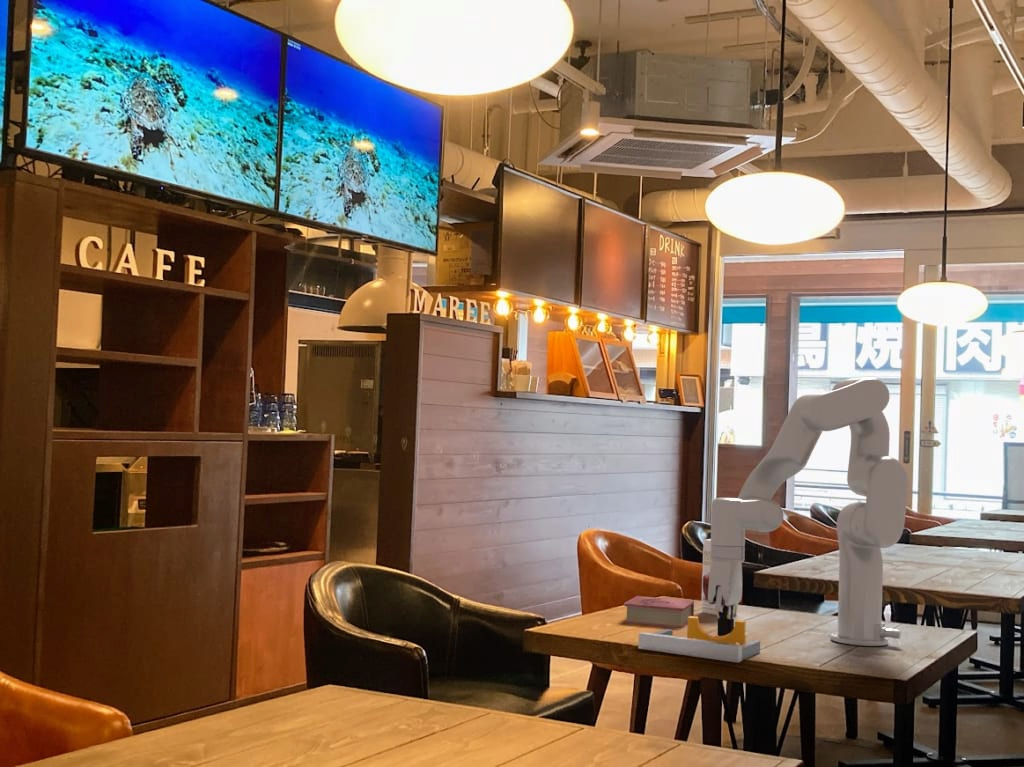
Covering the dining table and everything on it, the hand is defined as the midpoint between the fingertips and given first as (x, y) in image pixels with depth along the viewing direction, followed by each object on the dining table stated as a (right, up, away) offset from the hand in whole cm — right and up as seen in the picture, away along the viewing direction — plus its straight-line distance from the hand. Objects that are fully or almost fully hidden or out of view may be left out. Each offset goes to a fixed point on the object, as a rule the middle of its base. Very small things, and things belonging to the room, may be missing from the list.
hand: (725, 636), depth 255 cm
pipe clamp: (-4, -1, -9) cm, 9 cm away
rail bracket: (-8, 0, -12) cm, 15 cm away
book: (-11, -3, +26) cm, 29 cm away
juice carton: (+6, -4, +42) cm, 42 cm away
